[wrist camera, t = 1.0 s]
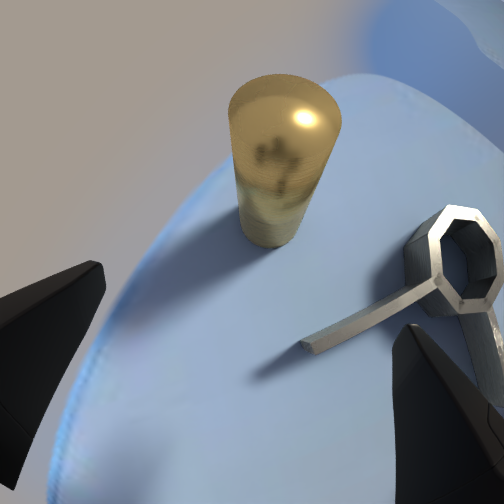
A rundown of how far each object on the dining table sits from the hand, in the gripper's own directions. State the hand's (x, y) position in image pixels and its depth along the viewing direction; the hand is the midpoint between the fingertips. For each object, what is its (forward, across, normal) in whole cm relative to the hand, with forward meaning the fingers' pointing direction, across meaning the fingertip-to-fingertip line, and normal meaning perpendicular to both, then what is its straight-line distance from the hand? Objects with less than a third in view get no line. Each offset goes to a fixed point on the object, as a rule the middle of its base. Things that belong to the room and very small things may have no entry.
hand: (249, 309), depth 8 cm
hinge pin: (+15, 0, +4) cm, 15 cm away
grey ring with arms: (+10, -16, +9) cm, 21 cm away
